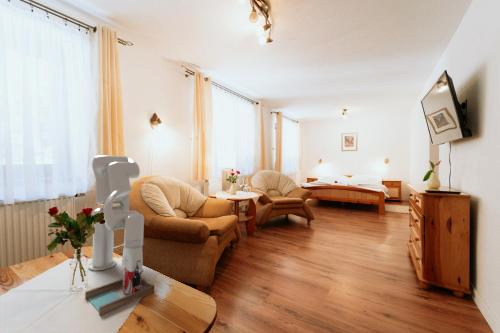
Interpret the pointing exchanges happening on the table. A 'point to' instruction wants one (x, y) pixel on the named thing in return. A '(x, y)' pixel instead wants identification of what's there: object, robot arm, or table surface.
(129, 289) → the soda can
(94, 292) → the bay
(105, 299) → the front mat
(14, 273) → the table surface
